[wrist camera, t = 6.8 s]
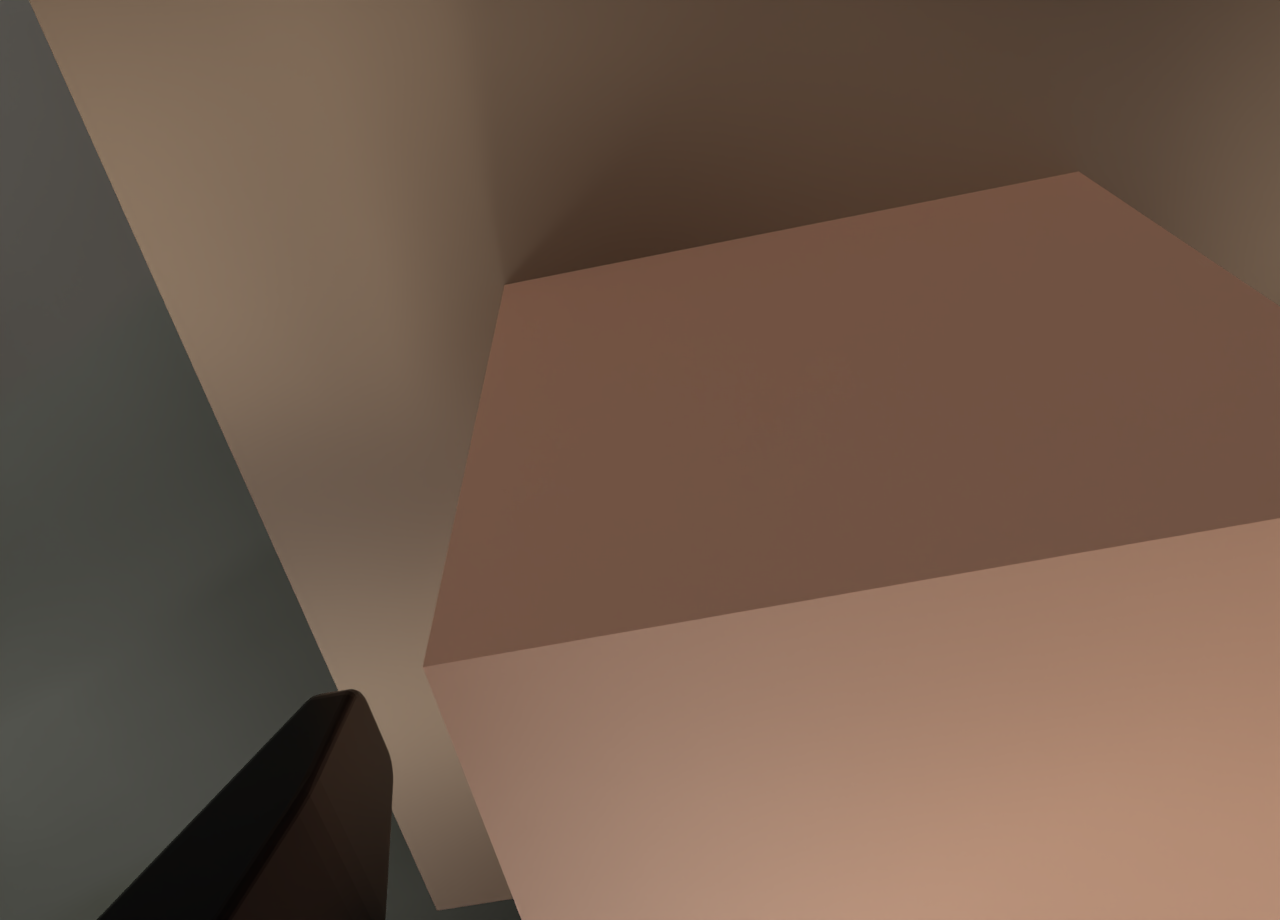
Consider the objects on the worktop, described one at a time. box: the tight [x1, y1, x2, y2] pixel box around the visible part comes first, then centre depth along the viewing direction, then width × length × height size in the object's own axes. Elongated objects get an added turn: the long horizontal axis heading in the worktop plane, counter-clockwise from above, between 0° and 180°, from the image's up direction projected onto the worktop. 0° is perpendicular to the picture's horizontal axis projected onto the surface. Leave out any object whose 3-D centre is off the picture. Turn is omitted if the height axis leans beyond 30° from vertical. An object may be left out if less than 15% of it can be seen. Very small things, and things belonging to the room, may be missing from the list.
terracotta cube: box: [423, 171, 1280, 920], centre depth 9 cm, size 6×6×6 cm
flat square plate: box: [29, 0, 1280, 911], centre depth 12 cm, size 12×12×1 cm
